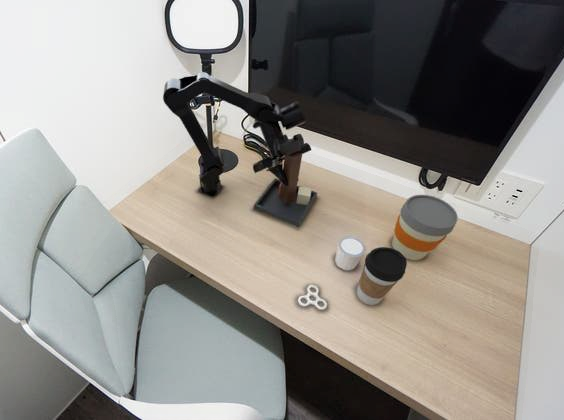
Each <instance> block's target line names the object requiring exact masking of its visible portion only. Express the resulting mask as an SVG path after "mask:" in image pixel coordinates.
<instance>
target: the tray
mask: <svg viewBox="0 0 564 420" xmlns="http://www.w3.org/2000/svg"><path fill="white" fill-rule="evenodd" d="M280 184H281V181H280V180H279V179H278V178H277V177H274V178H273V180H272V181H271V182H270V184H269V185H268V186H267V188H266V189H265V190H264V191H263V192H262V194H261V195H260V197H258V199H257V200H256V201H255V203H254V204H253V210H254V211H256V212H260V213H262V214H264V215H267V216H270V217H272V218H275V219H277V220H280V221H282V222H285V223H288V224H290V225H292V226H296V227H297V228H299V227H300V225H301V224H302V222H303V221H304V219H305V217H306V216H307V214H308V212H309V210H310V209H311V207H312V206H313V204H314V202H315V201H316V199H317V197H318V192H317V191H314V190H311V196H310V201H309V203H308V205H303V204H297V203H296V202H297V196H298V191H299V187H301V186H300V185H297V189H296V195H295V200H294V201H292V202H290V203H288V204H285V203H284V202H283V201H282V200H281V199H280V195H278V193H279V185H280Z"/></svg>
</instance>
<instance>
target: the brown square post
mask: <svg viewBox="0 0 564 420" xmlns="http://www.w3.org/2000/svg"><path fill="white" fill-rule="evenodd" d="M284 156H285V158H284V160H283V171H284V173H285V176H286V178H287V181H288V184H289V186H285V185H284V184H283V183H282V182H281V190H280V199H281V200H282V201H283V202H284V203H285V204H288V203H290V202H292V201H294V200H295V195H296V189H297V186H298V182H299V177H300V176H299V175H300V172H301V171H300V170H301V165H302V158H303V154H301V153H300V152H298V151H296V152H294V153H293V154H290V155H286V154H285V155H284Z"/></svg>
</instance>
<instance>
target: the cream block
mask: <svg viewBox="0 0 564 420" xmlns="http://www.w3.org/2000/svg"><path fill="white" fill-rule="evenodd" d="M311 191H313V190H312V188H310V187H305V186H300V187H299V191H298V196H297V202H296V203H297V204H303V205H308V203H309V201H310V196H311Z"/></svg>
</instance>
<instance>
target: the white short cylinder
mask: <svg viewBox="0 0 564 420" xmlns="http://www.w3.org/2000/svg"><path fill="white" fill-rule="evenodd" d="M365 252H366V245H365V244H364V243H363V242H362V241H361V240H360V239H359V238H357V237H354V236H344V237H342V238H340V239H339V241H338V243H337V248H336V253H335V257H334V258H335V259H334V260H335V262H334V263H335V264H336V266H337V267H338V268H339V269H341V270H344V271H352V270H354V269H355V268H356V267H357V265H358V264H359V262H360V261H361V259H362V257H363V256H364V254H365Z"/></svg>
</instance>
